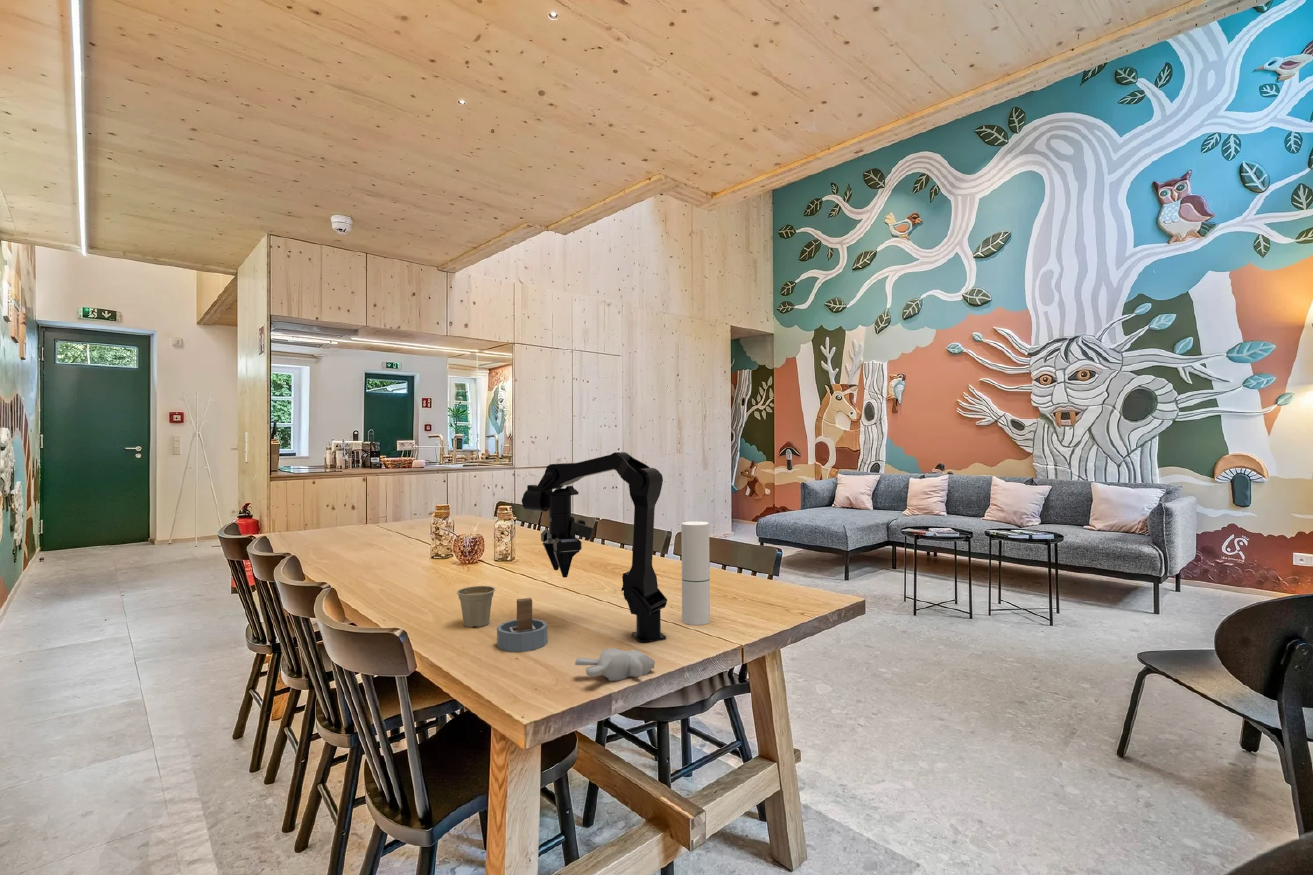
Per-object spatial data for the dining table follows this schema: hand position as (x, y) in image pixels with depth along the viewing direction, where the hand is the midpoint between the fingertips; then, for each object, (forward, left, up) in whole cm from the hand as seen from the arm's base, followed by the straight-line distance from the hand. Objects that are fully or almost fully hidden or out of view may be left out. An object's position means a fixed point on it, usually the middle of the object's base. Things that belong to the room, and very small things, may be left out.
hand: (560, 573), depth 155 cm
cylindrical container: (-13, -32, -13) cm, 37 cm away
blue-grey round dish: (-12, +12, -12) cm, 21 cm away
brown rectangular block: (-12, +11, -12) cm, 20 cm away
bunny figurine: (-39, -1, -13) cm, 41 cm away
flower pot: (+8, +20, -13) cm, 25 cm away
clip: (-12, +12, -12) cm, 21 cm away
